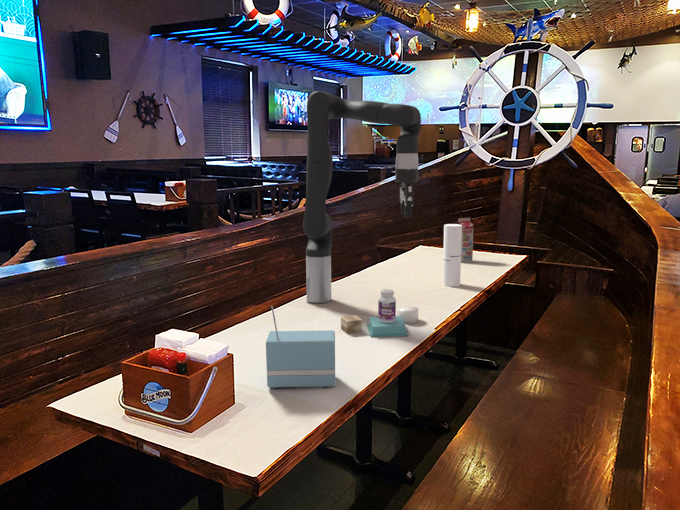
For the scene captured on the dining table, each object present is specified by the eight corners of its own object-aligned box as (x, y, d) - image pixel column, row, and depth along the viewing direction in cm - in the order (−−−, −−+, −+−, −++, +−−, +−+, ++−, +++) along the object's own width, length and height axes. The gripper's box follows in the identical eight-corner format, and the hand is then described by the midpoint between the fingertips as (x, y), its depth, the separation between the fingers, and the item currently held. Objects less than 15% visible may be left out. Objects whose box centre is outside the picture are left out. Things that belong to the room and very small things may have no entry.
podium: (370, 336, 160) (370, 327, 159) (367, 325, 171) (367, 316, 170) (407, 336, 160) (408, 326, 160) (402, 324, 171) (402, 315, 171)
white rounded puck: (398, 324, 172) (398, 312, 172) (395, 317, 179) (395, 306, 178) (419, 323, 173) (420, 311, 172) (416, 317, 179) (416, 305, 179)
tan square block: (346, 334, 163) (346, 321, 162) (341, 329, 168) (340, 317, 167) (361, 332, 165) (361, 319, 164) (355, 327, 170) (355, 315, 169)
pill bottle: (381, 324, 162) (381, 293, 160) (375, 319, 167) (375, 289, 165) (398, 322, 163) (398, 292, 162) (392, 317, 169) (392, 288, 167)
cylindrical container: (460, 287, 219) (462, 226, 214) (442, 286, 220) (443, 226, 216) (459, 283, 226) (461, 224, 221) (442, 282, 227) (444, 223, 222)
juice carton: (454, 260, 274) (455, 217, 270) (465, 259, 276) (466, 217, 272) (460, 262, 268) (461, 219, 264) (472, 261, 270) (473, 218, 266)
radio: (335, 374, 133) (334, 296, 130) (335, 390, 124) (334, 307, 121) (271, 375, 133) (268, 297, 129) (267, 391, 124) (264, 307, 121)
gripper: (392, 167, 185) (392, 214, 187) (398, 168, 171) (398, 218, 173) (414, 166, 185) (413, 213, 188) (422, 167, 171) (421, 218, 174)
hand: (406, 216), depth 181 cm, fingers open, 8 cm apart
